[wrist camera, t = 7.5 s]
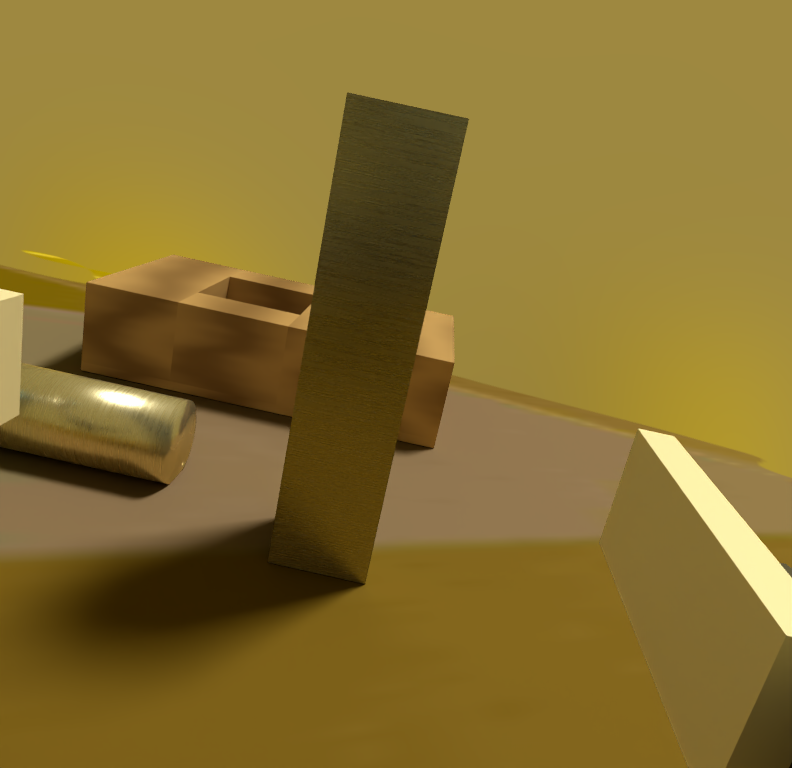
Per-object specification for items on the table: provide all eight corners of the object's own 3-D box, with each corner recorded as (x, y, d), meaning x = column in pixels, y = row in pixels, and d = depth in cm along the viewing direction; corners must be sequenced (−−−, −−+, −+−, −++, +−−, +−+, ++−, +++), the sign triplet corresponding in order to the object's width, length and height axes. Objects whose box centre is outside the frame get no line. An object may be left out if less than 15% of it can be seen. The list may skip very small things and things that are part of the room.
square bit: (267, 562, 25) (347, 92, 20) (289, 514, 28) (362, 103, 23) (364, 583, 25) (468, 118, 20) (375, 533, 28) (465, 125, 23)
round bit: (-17, 400, 31) (-72, 449, 28) (-31, 333, 29) (-91, 378, 26) (195, 448, 31) (163, 502, 28) (196, 384, 29) (162, 435, 26)
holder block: (81, 370, 38) (86, 282, 37) (166, 323, 50) (173, 254, 48) (433, 448, 38) (454, 362, 36) (437, 383, 49) (453, 316, 48)
